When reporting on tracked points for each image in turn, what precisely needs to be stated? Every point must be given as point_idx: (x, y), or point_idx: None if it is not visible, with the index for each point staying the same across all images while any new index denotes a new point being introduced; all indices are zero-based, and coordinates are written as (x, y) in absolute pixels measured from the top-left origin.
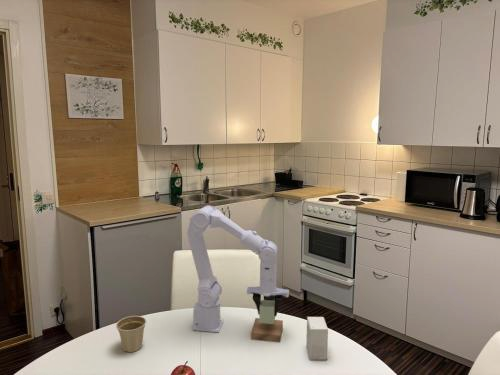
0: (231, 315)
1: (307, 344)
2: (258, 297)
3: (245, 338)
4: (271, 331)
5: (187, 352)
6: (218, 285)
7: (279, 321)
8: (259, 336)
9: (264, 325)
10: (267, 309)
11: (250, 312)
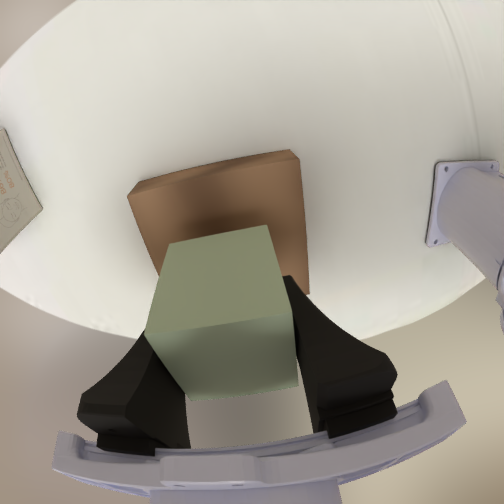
0: (399, 289)
1: (15, 192)
2: (331, 399)
3: (319, 149)
4: (186, 213)
5: (477, 28)
6: None
7: None
8: (245, 161)
9: None
10: (207, 309)
11: None
